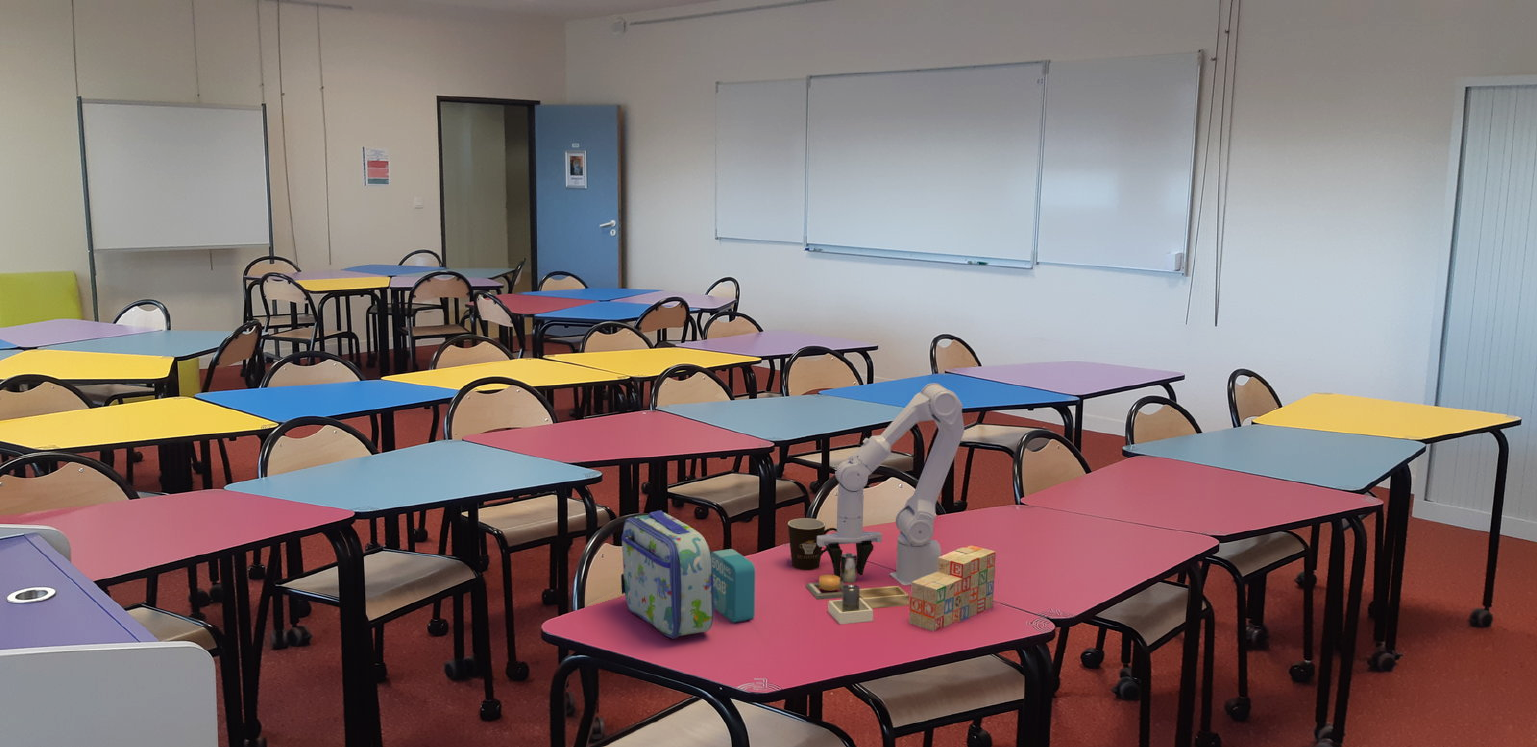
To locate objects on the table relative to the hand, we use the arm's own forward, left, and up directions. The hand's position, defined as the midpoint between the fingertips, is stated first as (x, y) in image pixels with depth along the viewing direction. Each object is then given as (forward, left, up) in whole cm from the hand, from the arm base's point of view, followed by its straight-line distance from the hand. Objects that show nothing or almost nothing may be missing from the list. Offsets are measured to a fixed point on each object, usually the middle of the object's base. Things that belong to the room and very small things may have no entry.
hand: (848, 574), depth 242 cm
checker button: (+6, +6, 0) cm, 9 cm away
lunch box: (+44, +13, -2) cm, 45 cm away
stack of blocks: (-14, +24, -2) cm, 28 cm away
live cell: (0, 0, -2) cm, 2 cm away
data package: (+30, +12, -2) cm, 32 cm away
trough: (-2, +14, -2) cm, 15 cm away
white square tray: (+7, +20, -2) cm, 22 cm away
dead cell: (+7, +20, -1) cm, 22 cm away
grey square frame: (+7, +6, -2) cm, 9 cm away
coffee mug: (+5, -12, -2) cm, 13 cm away
